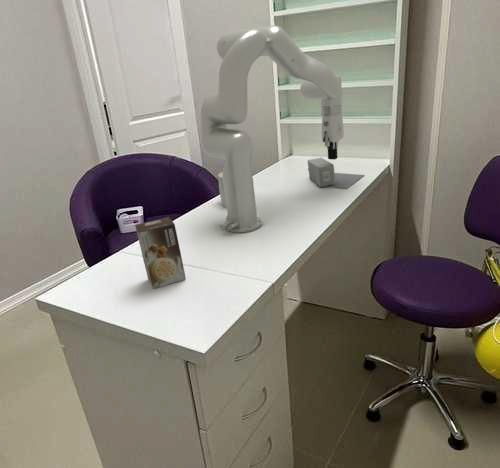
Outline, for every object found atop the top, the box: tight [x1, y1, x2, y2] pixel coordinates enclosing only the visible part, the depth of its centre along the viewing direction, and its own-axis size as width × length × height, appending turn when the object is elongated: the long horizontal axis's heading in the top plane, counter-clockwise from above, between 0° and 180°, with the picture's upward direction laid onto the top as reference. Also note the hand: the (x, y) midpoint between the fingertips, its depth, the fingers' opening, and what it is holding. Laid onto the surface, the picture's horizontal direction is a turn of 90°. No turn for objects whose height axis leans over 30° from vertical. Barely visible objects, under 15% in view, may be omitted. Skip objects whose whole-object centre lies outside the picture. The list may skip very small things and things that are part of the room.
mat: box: [316, 172, 365, 190], centre depth 175 cm, size 18×13×1 cm
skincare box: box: [307, 157, 336, 188], centre depth 174 cm, size 8×7×16 cm
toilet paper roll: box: [217, 171, 227, 208], centre depth 161 cm, size 12×12×12 cm
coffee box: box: [134, 216, 187, 289], centre depth 109 cm, size 9×6×16 cm
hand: (332, 158), depth 165 cm, fingers closed
